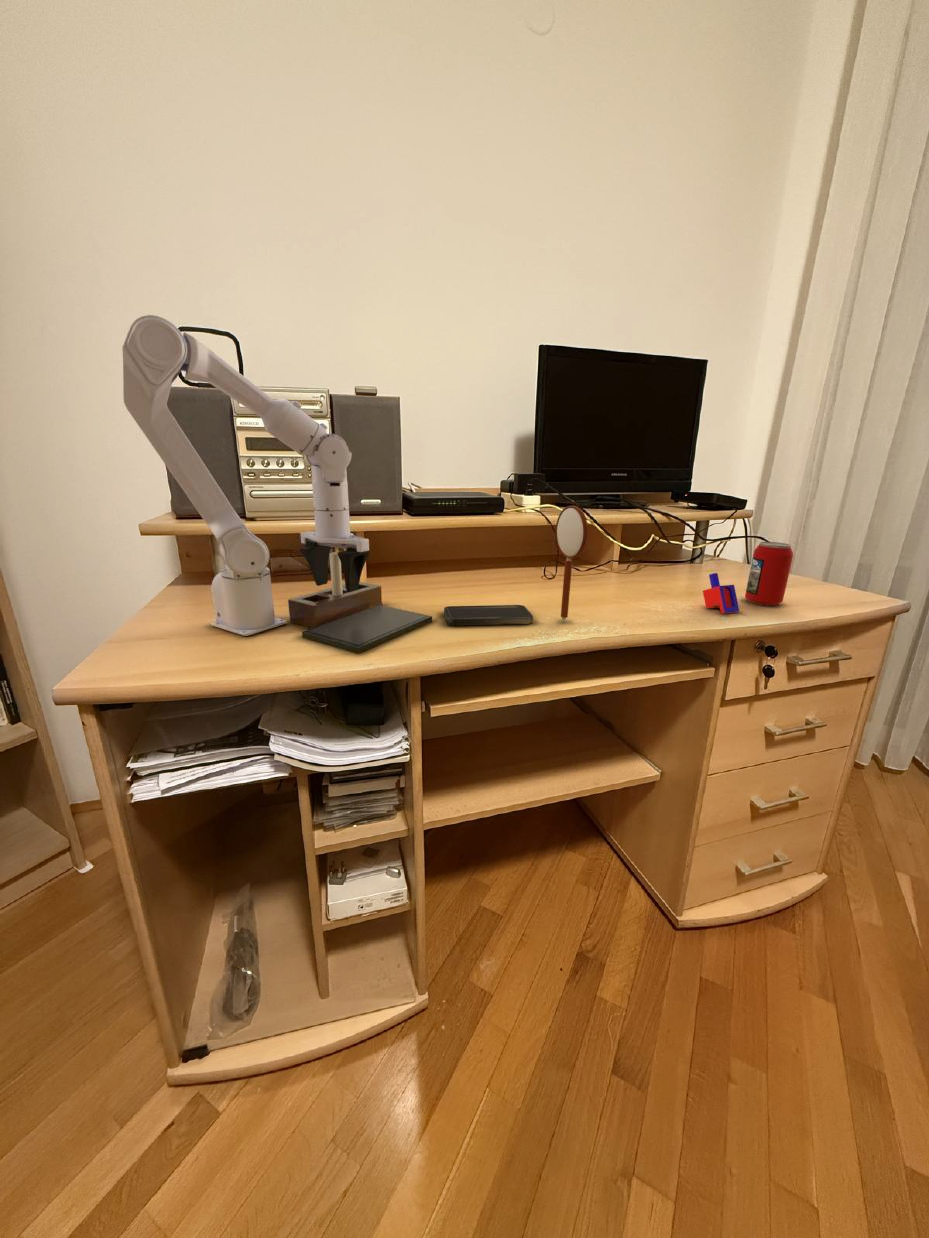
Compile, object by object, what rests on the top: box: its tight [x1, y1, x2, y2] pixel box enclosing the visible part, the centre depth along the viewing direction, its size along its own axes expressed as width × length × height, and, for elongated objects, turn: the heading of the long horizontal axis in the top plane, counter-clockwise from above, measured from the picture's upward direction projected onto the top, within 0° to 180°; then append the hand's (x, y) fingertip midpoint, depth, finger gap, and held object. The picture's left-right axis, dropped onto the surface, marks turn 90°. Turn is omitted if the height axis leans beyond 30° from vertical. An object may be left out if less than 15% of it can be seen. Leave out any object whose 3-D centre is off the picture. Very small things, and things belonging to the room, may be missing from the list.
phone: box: [443, 604, 534, 626], centre depth 87 cm, size 8×1×15 cm
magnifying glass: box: [555, 505, 589, 623], centre depth 83 cm, size 9×2×20 cm, turn 21°
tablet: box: [301, 604, 433, 655], centre depth 80 cm, size 12×18×1 cm, turn 148°
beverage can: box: [744, 541, 794, 607], centre depth 98 cm, size 7×7×12 cm
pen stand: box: [287, 581, 383, 629], centre depth 88 cm, size 6×16×4 cm, turn 148°
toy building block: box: [702, 572, 740, 615], centre depth 94 cm, size 4×4×8 cm
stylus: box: [329, 551, 343, 596], centre depth 87 cm, size 2×2×11 cm
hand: (336, 587), depth 87 cm, fingers open, 7 cm apart
